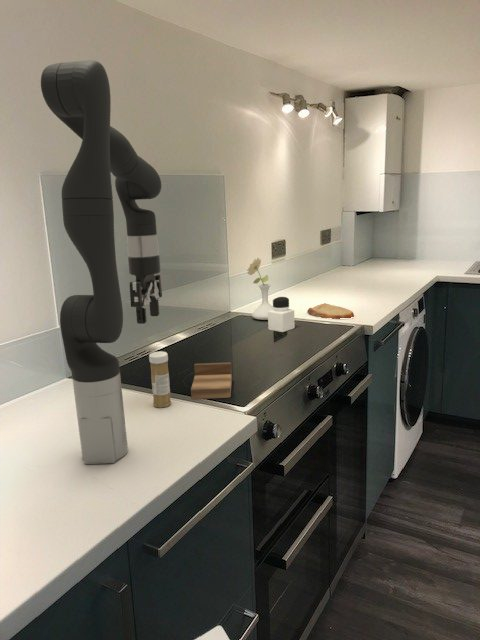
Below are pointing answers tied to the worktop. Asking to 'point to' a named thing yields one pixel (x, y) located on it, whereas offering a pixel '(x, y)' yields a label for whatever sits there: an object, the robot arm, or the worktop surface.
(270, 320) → the medicine bottle
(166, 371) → the sprinkles bottle
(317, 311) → the slice of bread
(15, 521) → the worktop surface
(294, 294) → the worktop surface
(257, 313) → the flower in vase
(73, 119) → the robot arm
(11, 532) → the worktop surface
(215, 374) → the dock
